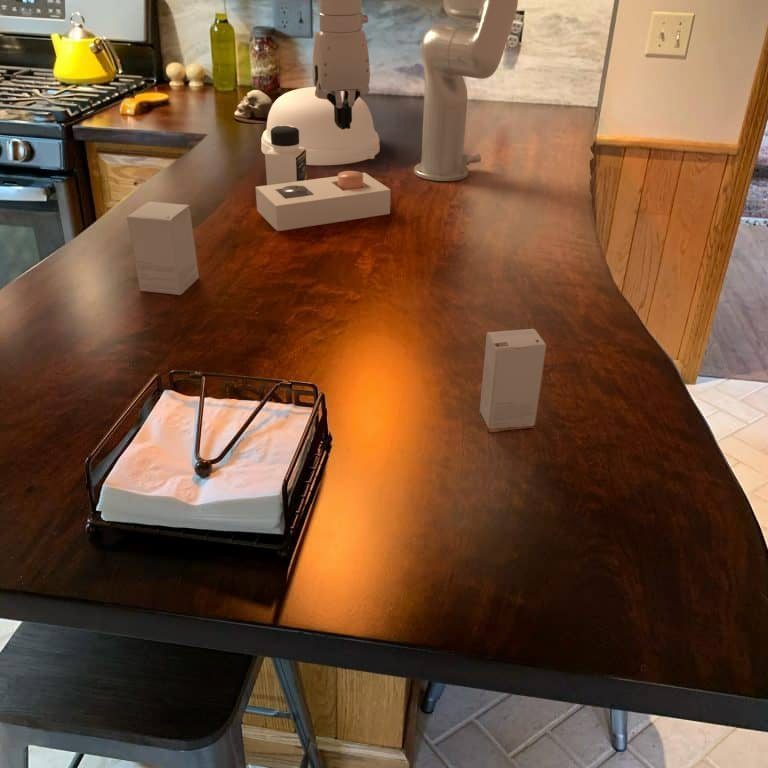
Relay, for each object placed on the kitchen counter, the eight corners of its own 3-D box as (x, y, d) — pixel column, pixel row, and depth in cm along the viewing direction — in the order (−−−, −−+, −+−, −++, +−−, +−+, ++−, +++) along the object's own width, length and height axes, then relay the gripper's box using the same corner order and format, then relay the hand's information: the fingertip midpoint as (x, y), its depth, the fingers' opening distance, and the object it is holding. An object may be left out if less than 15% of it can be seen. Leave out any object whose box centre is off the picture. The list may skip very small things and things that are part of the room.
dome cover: (405, 145, 198) (407, 88, 191) (339, 174, 177) (338, 111, 169) (305, 126, 212) (303, 73, 205) (233, 151, 191) (228, 92, 183)
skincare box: (523, 410, 97) (535, 325, 90) (535, 431, 93) (549, 344, 86) (476, 414, 96) (485, 329, 89) (486, 435, 92) (497, 348, 85)
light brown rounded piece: (356, 188, 159) (356, 169, 156) (367, 196, 155) (367, 176, 153) (334, 192, 157) (334, 172, 154) (344, 199, 153) (344, 179, 151)
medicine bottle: (297, 188, 167) (295, 132, 161) (266, 185, 168) (263, 130, 162) (307, 178, 173) (305, 124, 167) (276, 176, 174) (274, 122, 168)
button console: (364, 195, 164) (364, 172, 161) (389, 213, 155) (390, 189, 152) (257, 211, 155) (255, 186, 152) (277, 231, 146) (276, 205, 143)
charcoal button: (302, 203, 155) (301, 184, 153) (311, 211, 151) (311, 191, 149) (279, 207, 153) (278, 187, 151) (288, 215, 149) (287, 195, 147)
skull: (226, 119, 212) (230, 85, 214) (237, 138, 223) (241, 105, 224) (269, 120, 211) (272, 86, 213) (277, 138, 221) (281, 105, 223)
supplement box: (200, 277, 128) (191, 204, 121) (180, 296, 122) (170, 220, 115) (159, 272, 129) (148, 199, 122) (138, 291, 123) (125, 215, 116)
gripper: (369, 18, 143) (370, 118, 154) (294, 23, 138) (300, 127, 148) (387, 24, 138) (386, 127, 148) (309, 30, 132) (314, 137, 143)
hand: (343, 127), depth 148 cm, fingers closed
